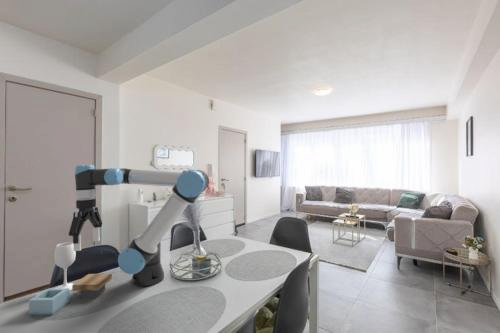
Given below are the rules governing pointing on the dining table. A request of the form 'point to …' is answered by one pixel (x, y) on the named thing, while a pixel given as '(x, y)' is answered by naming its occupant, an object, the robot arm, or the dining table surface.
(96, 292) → the gray square block
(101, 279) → the lid
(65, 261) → the wineglass
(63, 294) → the dish
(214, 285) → the dining table surface
